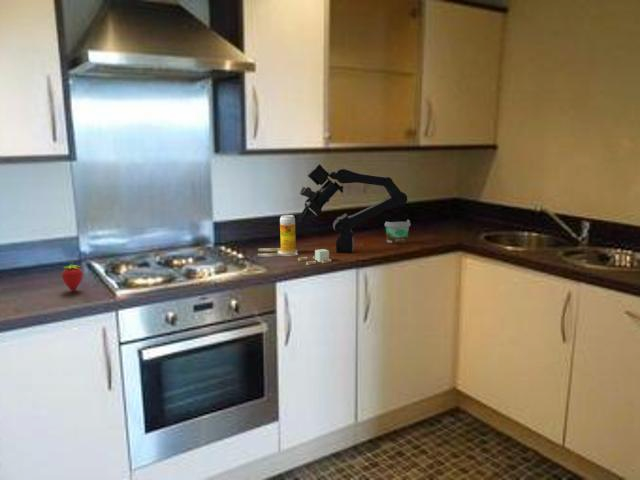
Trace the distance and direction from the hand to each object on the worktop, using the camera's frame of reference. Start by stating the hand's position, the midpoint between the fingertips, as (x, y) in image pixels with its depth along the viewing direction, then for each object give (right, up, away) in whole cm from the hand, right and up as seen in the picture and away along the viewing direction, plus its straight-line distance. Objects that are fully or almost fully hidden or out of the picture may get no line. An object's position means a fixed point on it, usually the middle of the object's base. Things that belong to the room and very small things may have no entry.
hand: (299, 221), depth 224 cm
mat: (-5, -13, +2) cm, 14 cm away
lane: (-9, -13, +2) cm, 16 cm away
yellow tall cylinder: (-5, -13, +2) cm, 14 cm away
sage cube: (+9, -15, -11) cm, 21 cm away
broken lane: (+6, -16, -12) cm, 21 cm away
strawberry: (-69, -24, -51) cm, 89 cm away
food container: (+44, -9, +19) cm, 48 cm away
